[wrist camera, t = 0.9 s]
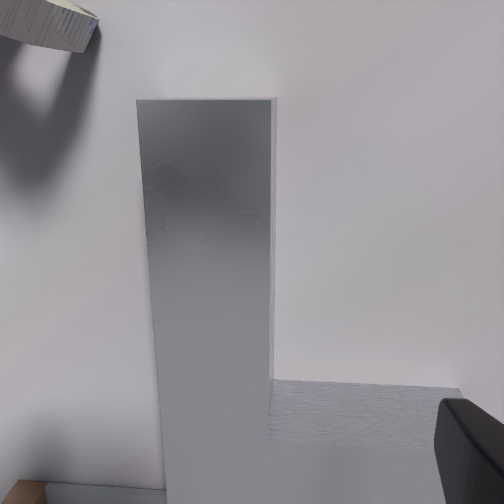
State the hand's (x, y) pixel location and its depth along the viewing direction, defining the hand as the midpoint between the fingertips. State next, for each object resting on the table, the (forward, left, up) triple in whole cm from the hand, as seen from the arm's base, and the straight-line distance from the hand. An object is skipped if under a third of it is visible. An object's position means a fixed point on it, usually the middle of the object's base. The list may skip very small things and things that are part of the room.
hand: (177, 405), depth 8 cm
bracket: (-3, +1, -7) cm, 8 cm away
